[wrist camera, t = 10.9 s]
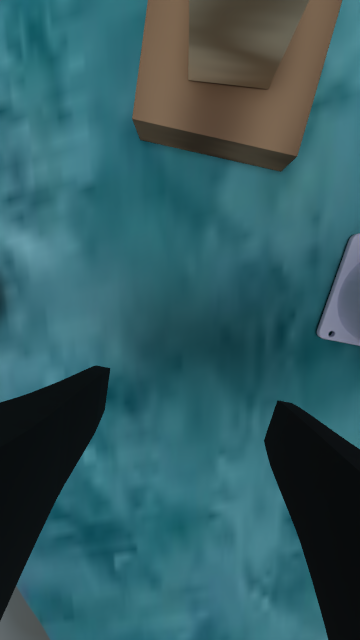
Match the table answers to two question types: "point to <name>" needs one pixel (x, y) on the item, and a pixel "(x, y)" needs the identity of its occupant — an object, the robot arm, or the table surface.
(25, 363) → the table surface
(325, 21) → the walnut block
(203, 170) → the table surface
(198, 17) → the maple block
